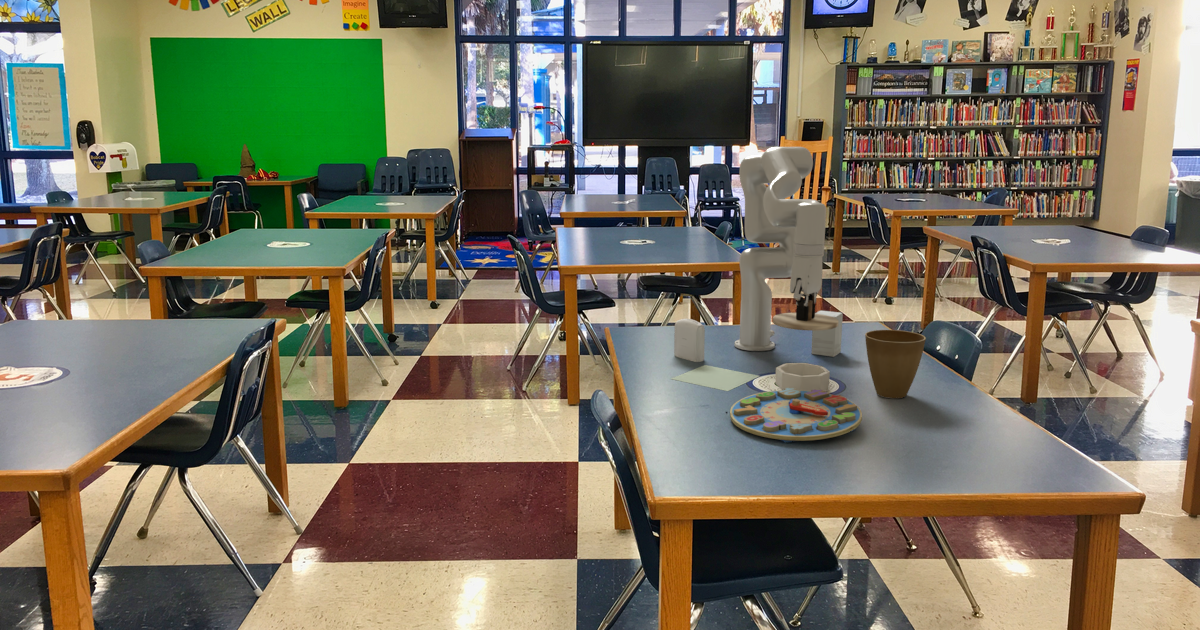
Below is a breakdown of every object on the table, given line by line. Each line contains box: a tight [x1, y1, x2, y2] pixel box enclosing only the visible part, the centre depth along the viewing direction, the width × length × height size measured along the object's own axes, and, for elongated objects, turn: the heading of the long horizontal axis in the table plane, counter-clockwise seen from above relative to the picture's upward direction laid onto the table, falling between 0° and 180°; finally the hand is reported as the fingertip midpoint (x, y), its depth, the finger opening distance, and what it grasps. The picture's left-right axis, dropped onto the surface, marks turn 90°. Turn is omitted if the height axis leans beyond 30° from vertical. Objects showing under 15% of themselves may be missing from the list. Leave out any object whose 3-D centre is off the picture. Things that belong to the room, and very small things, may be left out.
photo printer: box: [673, 318, 706, 363], centre depth 263 cm, size 10×4×12 cm, turn 39°
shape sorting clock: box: [729, 388, 863, 443], centre depth 209 cm, size 31×30×6 cm
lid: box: [772, 300, 839, 331], centre depth 233 cm, size 17×17×6 cm
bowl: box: [774, 362, 831, 392], centre depth 237 cm, size 13×13×5 cm
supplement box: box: [811, 310, 844, 358], centre depth 271 cm, size 7×7×13 cm
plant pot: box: [864, 329, 927, 399], centre depth 230 cm, size 15×15×16 cm
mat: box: [670, 364, 761, 392], centre depth 244 cm, size 18×18×1 cm
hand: (805, 318), depth 233 cm, fingers closed on lid, 3 cm apart
